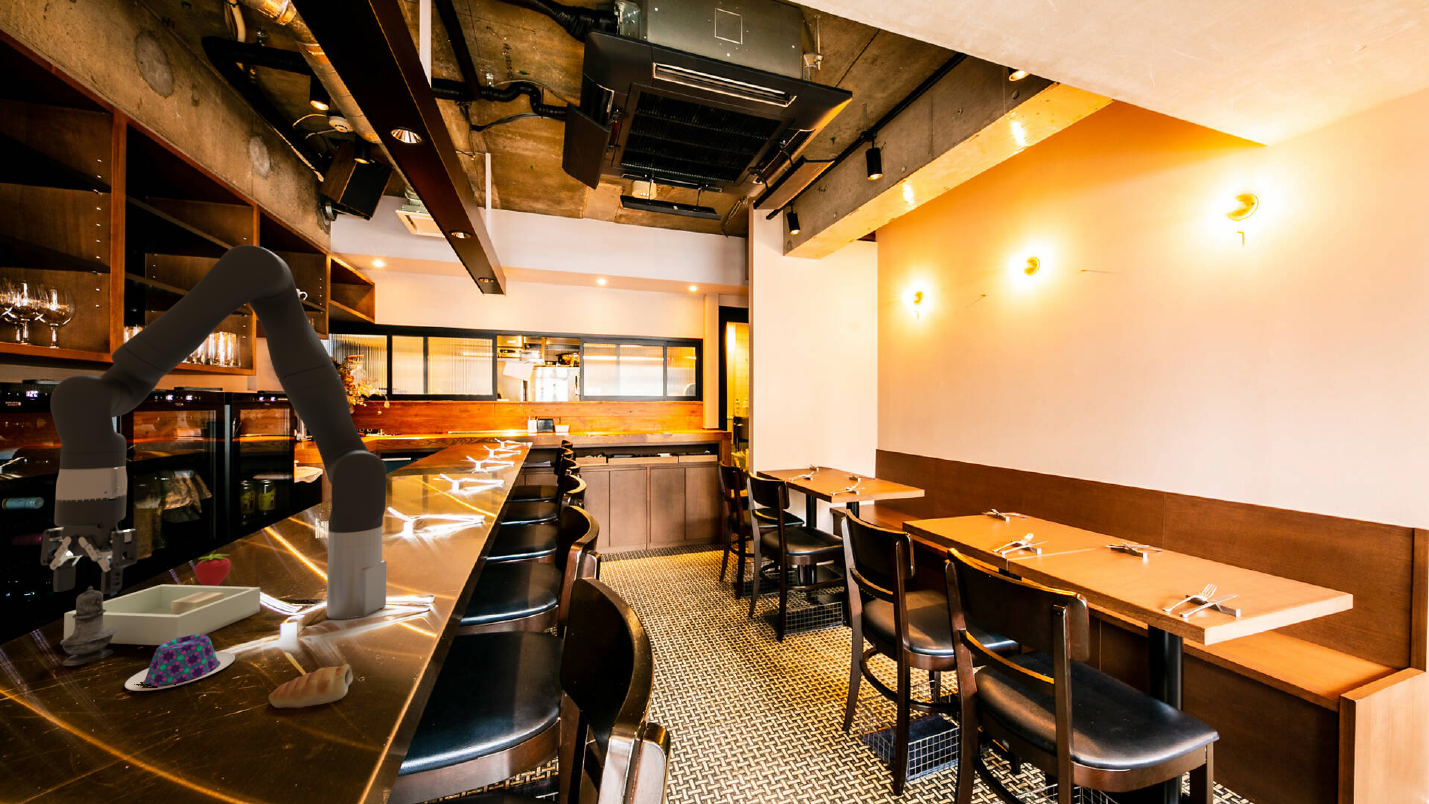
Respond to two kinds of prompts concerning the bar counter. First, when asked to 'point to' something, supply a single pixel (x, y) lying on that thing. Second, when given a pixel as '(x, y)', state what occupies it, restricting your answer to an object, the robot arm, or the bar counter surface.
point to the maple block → (194, 602)
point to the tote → (151, 617)
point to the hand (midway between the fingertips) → (87, 591)
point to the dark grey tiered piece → (88, 631)
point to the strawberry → (212, 569)
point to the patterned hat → (181, 663)
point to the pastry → (313, 688)
